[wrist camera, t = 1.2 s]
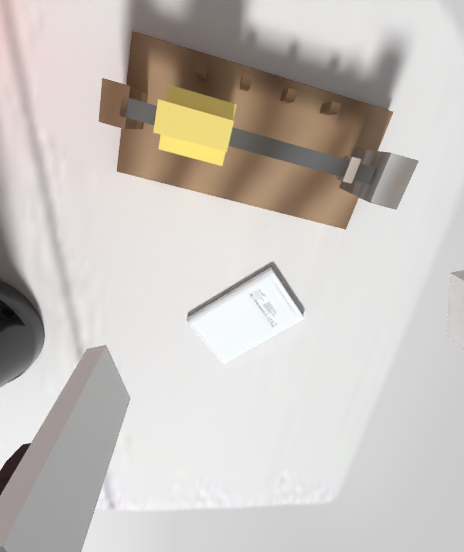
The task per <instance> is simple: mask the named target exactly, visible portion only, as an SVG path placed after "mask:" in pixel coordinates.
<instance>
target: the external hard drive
mask: <svg viewBox="0 0 464 552" xmlns="http://www.w3.org/2000/svg"><path fill="white" fill-rule="evenodd" d="M302 319H304V316H303V314H302V313H301V311H300V310H299V308H298V307H297V305H296V304H295V302H294V301H293V299H292V298H291V296H290V295H289V294H288V292H287V291H286V289H285V287H284V286H283V284H282V283H281V281H280V280H279V278H278V277H277V275H276V274H275V272H274V271H273V269H272V268H271V267H269V268H268V269H266V270H264V271H263V272H261V273H259V274H258V275H256V276H255V277H253V278H251V279H250V280H248V281H246V282H245V283H243V284H241V285H240V286H238V287H236V288H235V289H233V290H231V291H230V292H228V293H227V294H225V295H223V296H222V297H220V298H218V299H217V300H215V301H213V302H212V303H210V304H209V305H207V306H205V307H204V308H202V309H200V310H199V311H197V312H195V313H194V314H192V315H191V316H189V317H187V322H188V324H189V325H190V326H191V327H192V329H193V330H194V331H195V332H196V333H197V335H198V336H199V337H200V338H201V339H202V340H203V342H204V343H205V344H206V345H207V346H208V348H209V349H210V350H211V351H212V352H213V353H214V355H215V356H216V357H217V358H218V359H219V361H220V362H221V363H222V364H224V363H226V362H228V361H229V360H231V359H233V358H235V357H237V356H238V355H240V354H242V353H244V352H245V351H247V350H249V349H251V348H252V347H254V346H256V345H258V344H260V343H261V342H263V341H265V340H267V339H268V338H270V337H272V336H274V335H276V334H277V333H279V332H281V331H283V330H284V329H286V328H288V327H290V326H291V325H293V324H295V323H297V322H299V321H300V320H302Z"/></svg>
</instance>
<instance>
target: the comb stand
mask: <svg viewBox="0 0 464 552" xmlns="http://www.w3.org/2000/svg"><path fill="white" fill-rule="evenodd" d="M168 85H172V86H175V87H179V88H182V89H185V90H189V91H192V92H196V93H199V94H203V95H206V96H209V97H213V98H216V99H220V100H223V101H226V102H230V103H233V104H237V105H236V110H235V114H234V118H233V121H234V123H233V128H232V132H231V136H230V140H229V145H228V149H227V152H226V153H225V157H224V161H223V166H220V165H216V164H212V163H208V162H205V161H201V160H197V159H193V158H190V157H186V156H182V155H178V154H175V153H171V152H167V151H163V150H160V149H158V148H159V142H160V135H161V134H157V133H153V131H154V124H155V117H156V110H157V104H158V99H159V100H163V101H166V97H167V90H168ZM392 114H393V112H392V111H389V110H386V109H382V108H379V107H376V106H373V105H369V104H366V103H363V102H360V101H357V100H353V99H350V98H347V97H344V96H340V95H337V94H334V93H331V92H327V91H324V90H321V89H318V88H314V87H311V86H308V85H305V84H302V83H298V82H295V81H292V80H289V79H285V78H282V77H279V76H276V75H272V74H269V73H266V72H263V71H259V70H256V69H253V68H250V67H247V66H243V65H240V64H237V63H234V62H230V61H227V60H224V59H221V58H217V57H214V56H211V55H208V54H204V53H201V52H198V51H195V50H192V49H188V48H185V47H182V46H179V45H175V44H172V43H169V42H166V41H162V40H159V39H156V38H153V37H149V36H146V35H143V34H140V33H137V32H133V31H132V40H131V49H130V58H129V66H128V75H127V84H126V85H125V84H121V83H118V82H114V81H111V80H107V79H104V78H102V90H101V101H100V113H99V122H102V123H106V124H109V125H113V126H117V127H120V128H122V129H121V138H120V147H119V156H118V165H117V172H121V173H125V174H129V175H133V176H137V177H141V178H145V179H149V180H153V181H157V182H161V183H165V184H169V185H173V186H177V187H181V188H185V189H189V190H193V191H196V192H200V193H204V194H208V195H212V196H216V197H220V198H224V199H228V200H232V201H236V202H240V203H244V204H248V205H252V206H256V207H260V208H264V209H268V210H271V211H275V212H279V213H283V214H287V215H291V216H295V217H299V218H303V219H307V220H311V221H315V222H319V223H323V224H327V225H331V226H335V227H339V228H343V229H346V227H347V225H348V222H349V220H350V218H351V215H352V213H353V210H354V208H355V205H356V203H357V200H358V198H361V199H364V200H366V201H368V202H370V203H373V204H377V205H381V206H384V207H388V208H392V209H397V207H398V205H399V203H400V201H401V199H402V196H403V194H404V192H405V190H406V188H407V185H408V183H409V181H410V179H411V177H412V174H413V172H414V170H415V168H416V166H417V164H418V161H417V160H414V159H410V158H407V157H404V156H400V155H397V154H393V153H388V152H380V151H378V148H379V146H380V144H381V141H382V139H383V136H384V134H385V131H386V129H387V126H388V124H389V121H390V119H391V116H392Z"/></svg>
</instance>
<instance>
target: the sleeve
mask: <svg viewBox="0 0 464 552" xmlns="http://www.w3.org/2000/svg"><path fill="white" fill-rule="evenodd" d="M236 105H237V104H233V103H230V102H226V101H223V100H220V99H216V98H213V97H209V96H206V95H203V94H199V93H196V92H192V91H189V90H185V89H182V88H179V87H175V86H172V85H168V90H167V97H166V101H163V100H159V99H158V104H157V110H156V117H155V124H154V131H153V133H157V134H161V135H160V142H159V148H158V149H160V150H163V151H167V152H171V153H175V154H178V155H182V156H186V157H190V158H193V159H197V160H201V161H205V162H208V163H212V164H216V165H220V166H223V161H224V157H225V153H226V152H227V149H228V145H229V140H230V136H231V132H232V128H233V123H234V121H233V118H234V114H235V110H236Z"/></svg>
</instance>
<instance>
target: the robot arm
mask: <svg viewBox="0 0 464 552" xmlns="http://www.w3.org/2000/svg"><path fill="white" fill-rule="evenodd" d="M446 335H447V336H449V337H450V338H451V339H452V340H453V341H454V342H455V343H457V344H458V345H459V346H460V347H461V348H462V349H463V350H464V270H463V271H457V272H453V273H450V288H449V303H448V317H447V332H446ZM43 343H44V331H43V326H42V323H41V320H40V318H39V316H38V314H37V312H36V311H35V309H34V308H33V306H32V305H31V304H30V303H29V301H28V300H27V299H26V298H25V297H24V296H23V295H21V294H20V293H19V292H18V291H17V290H15V289H14V288H12V287H11V286H9V285H8V284H6V283H4V282H2V281H0V387H2V386H3V385H5V384H6V383H9V382H10V381H12V380H14V379H16V378H18V377H19V376H21V375H22V374H23V373H24V372H25V371H26V370H27V369H28V368H29V367H30V366H31V365H32V363H33V362H34V361H35V360H36V359H37V357H38V356H39V354H40V352H41V350H42V347H43ZM129 401H130V397H129V394H128V392H127V390H126V388H125V386H124V383H123V381H122V379H121V377H120V375H119V372H118V370H117V368H116V366H115V364H114V361H113V359H112V357H111V355H110V353H109V350H108V348H107V346H106V345H104V346H99V347H95V348H90V349H87V350H86V352H85V353H84V355H83V357H82V358H81V360H80V362H79V363H78V365H77V367H76V368H75V370H74V372H73V374H72V375H71V377H70V379H69V380H68V382H67V384H66V385H65V387H64V389H63V390H62V392H61V394H60V395H59V397H58V399H57V401H56V402H55V404H54V406H53V407H52V409H51V411H50V412H49V414H48V416H47V417H46V419H45V421H44V422H43V424H42V426H41V428H40V429H39V431H38V433H37V434H36V436H35V438H34V439H33V441H32V443H28V444H23V445H22V446H21V447H20V448H19V449H18V450H17V451H16V452H15V453H14V454H13V455H12V456H11V457H10V458H9V459H8V460H7V461H6V463H5V464H4V466H3V467H2V469H1V471H0V552H81V551H82V547H83V544H84V541H85V538H86V535H87V532H88V529H89V525H90V523H91V519H92V516H93V513H94V510H95V507H96V504H97V501H98V498H99V494H100V491H101V488H102V485H103V482H104V479H105V476H106V473H107V469H108V466H109V463H110V460H111V457H112V454H113V451H114V448H115V444H116V441H117V438H118V435H119V432H120V429H121V426H122V422H123V419H124V416H125V413H126V410H127V407H128V404H129Z"/></svg>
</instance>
